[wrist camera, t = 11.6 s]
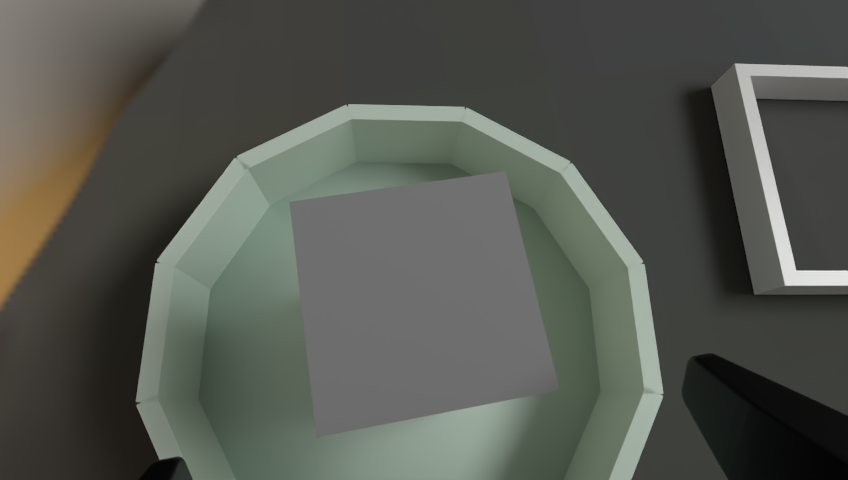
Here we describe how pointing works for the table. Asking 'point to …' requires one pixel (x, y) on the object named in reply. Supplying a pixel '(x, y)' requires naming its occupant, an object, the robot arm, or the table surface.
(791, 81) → the square frame
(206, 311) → the serving bowl
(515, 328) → the cream grey rectangular block
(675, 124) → the table surface
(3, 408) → the table surface
